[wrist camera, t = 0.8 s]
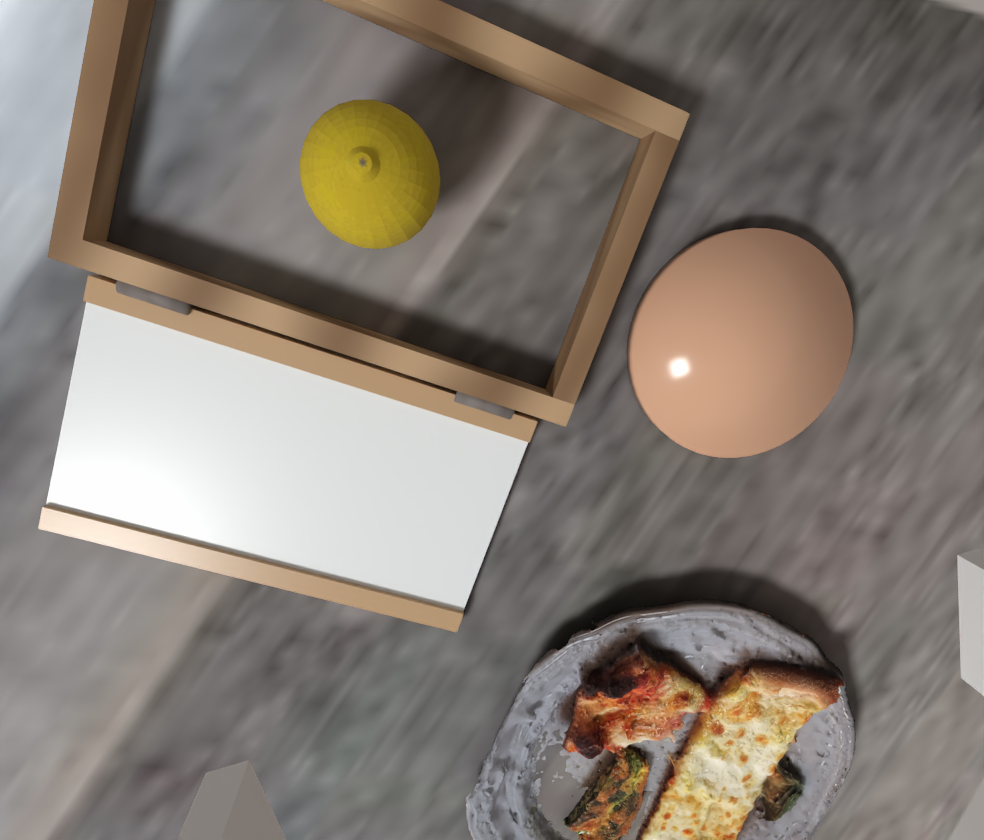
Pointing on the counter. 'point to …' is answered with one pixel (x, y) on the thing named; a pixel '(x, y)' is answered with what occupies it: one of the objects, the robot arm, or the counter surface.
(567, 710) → the food plate
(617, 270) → the wooden frame
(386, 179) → the lemon
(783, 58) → the counter surface
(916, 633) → the counter surface
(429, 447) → the lid
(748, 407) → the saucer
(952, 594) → the counter surface
